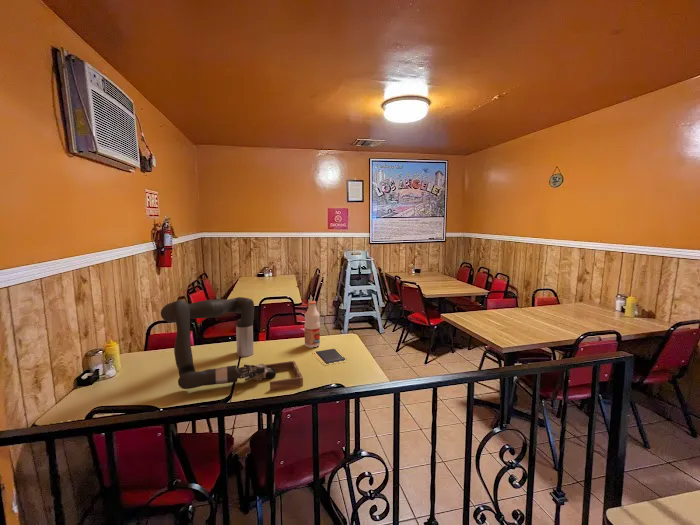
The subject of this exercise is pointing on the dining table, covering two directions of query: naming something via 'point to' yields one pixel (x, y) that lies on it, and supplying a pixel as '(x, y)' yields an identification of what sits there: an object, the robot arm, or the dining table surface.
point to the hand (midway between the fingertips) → (264, 369)
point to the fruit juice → (312, 326)
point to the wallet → (329, 356)
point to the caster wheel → (267, 374)
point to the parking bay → (286, 382)
